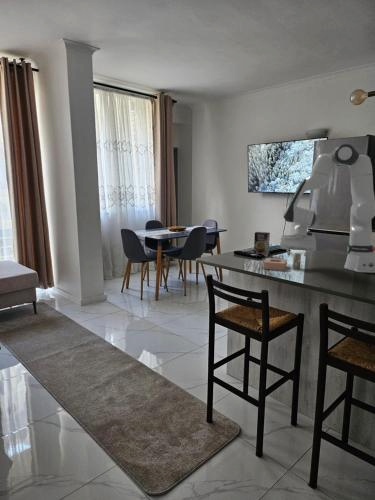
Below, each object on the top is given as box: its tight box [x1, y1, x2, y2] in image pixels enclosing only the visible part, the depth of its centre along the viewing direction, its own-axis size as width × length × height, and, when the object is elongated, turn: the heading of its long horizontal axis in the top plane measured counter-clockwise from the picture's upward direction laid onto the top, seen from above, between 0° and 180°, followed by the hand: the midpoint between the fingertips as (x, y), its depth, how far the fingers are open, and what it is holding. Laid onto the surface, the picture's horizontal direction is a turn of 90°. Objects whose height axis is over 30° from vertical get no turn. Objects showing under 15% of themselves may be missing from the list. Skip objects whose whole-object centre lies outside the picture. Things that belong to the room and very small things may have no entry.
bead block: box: [262, 257, 288, 272], centre depth 202 cm, size 12×12×4 cm
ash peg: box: [292, 252, 302, 270], centre depth 198 cm, size 4×4×9 cm
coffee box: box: [253, 231, 271, 258], centre depth 234 cm, size 9×6×16 cm
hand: (297, 255), depth 200 cm, fingers open, 8 cm apart
